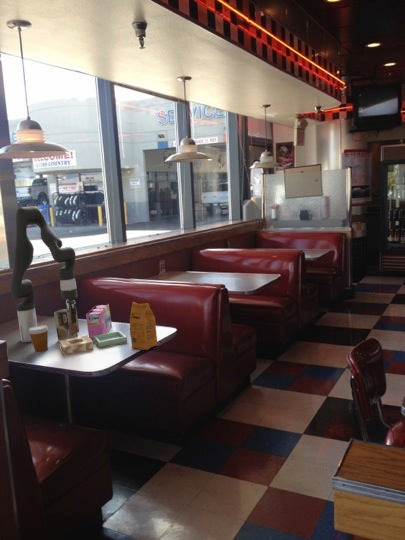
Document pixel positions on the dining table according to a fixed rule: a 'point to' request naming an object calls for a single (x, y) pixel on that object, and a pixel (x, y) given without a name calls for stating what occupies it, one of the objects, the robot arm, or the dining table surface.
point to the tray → (110, 339)
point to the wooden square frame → (76, 345)
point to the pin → (72, 326)
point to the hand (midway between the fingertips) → (73, 321)
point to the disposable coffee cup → (39, 337)
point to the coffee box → (63, 325)
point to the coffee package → (142, 327)
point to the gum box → (98, 320)
